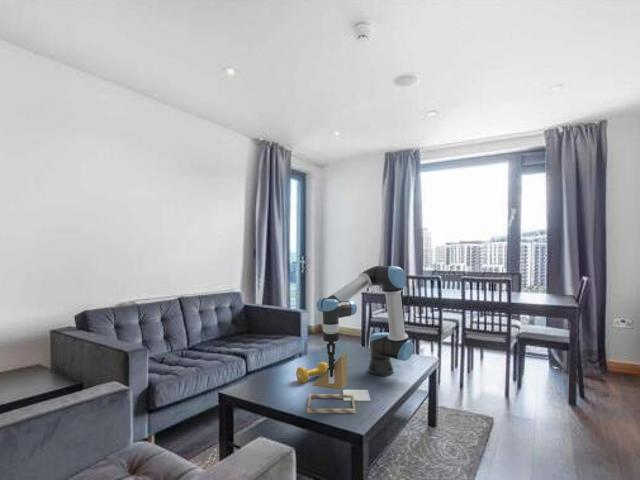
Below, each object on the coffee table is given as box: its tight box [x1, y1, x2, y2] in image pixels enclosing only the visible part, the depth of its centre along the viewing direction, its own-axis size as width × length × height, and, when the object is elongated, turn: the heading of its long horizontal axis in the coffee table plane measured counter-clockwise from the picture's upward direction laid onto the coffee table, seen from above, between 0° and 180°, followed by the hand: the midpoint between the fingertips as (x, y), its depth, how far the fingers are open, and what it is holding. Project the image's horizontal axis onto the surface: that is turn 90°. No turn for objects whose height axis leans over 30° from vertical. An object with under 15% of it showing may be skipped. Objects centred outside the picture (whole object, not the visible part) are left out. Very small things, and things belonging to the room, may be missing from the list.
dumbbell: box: [295, 361, 329, 384], centre depth 207 cm, size 19×9×8 cm, turn 125°
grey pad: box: [342, 389, 371, 403], centre depth 183 cm, size 13×13×1 cm
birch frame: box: [306, 393, 357, 414], centre depth 173 cm, size 22×17×2 cm
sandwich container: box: [311, 352, 348, 391], centre depth 174 cm, size 9×15×15 cm, turn 68°
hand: (331, 379), depth 173 cm, fingers closed on sandwich container, 9 cm apart
